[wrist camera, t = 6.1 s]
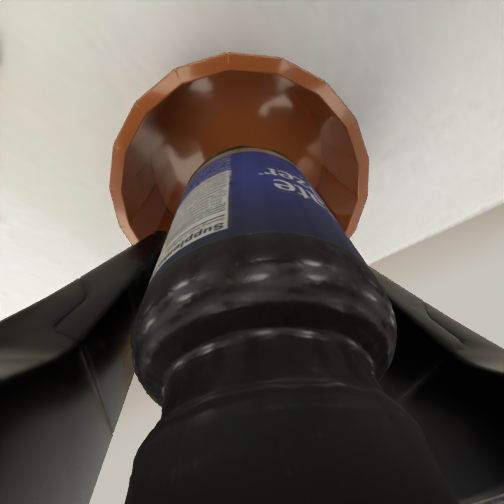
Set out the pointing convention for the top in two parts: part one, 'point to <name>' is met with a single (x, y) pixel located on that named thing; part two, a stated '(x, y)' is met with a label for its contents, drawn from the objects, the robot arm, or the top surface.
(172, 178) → the bowl
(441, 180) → the top surface
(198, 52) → the top surface
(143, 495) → the pill bottle
